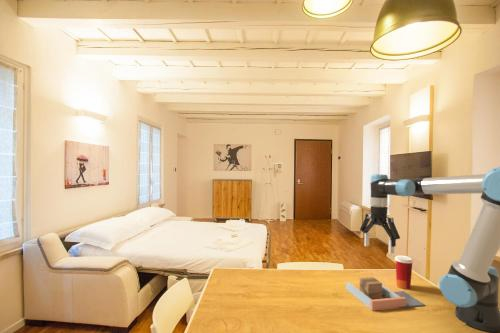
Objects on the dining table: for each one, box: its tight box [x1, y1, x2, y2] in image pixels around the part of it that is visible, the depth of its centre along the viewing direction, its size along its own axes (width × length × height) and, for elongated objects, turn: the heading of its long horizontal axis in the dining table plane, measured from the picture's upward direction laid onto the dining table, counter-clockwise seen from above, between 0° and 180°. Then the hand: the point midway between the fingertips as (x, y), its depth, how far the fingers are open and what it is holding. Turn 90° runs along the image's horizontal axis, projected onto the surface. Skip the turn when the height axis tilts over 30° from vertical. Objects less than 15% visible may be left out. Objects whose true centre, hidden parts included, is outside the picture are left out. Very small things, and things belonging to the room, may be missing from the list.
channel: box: [345, 281, 406, 312], centre depth 130 cm, size 22×16×4 cm
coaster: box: [382, 290, 425, 309], centre depth 128 cm, size 13×13×1 cm
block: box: [359, 276, 383, 300], centre depth 133 cm, size 7×7×7 cm
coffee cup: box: [394, 255, 414, 290], centre depth 142 cm, size 8×8×15 cm
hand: (378, 249), depth 135 cm, fingers open, 13 cm apart
